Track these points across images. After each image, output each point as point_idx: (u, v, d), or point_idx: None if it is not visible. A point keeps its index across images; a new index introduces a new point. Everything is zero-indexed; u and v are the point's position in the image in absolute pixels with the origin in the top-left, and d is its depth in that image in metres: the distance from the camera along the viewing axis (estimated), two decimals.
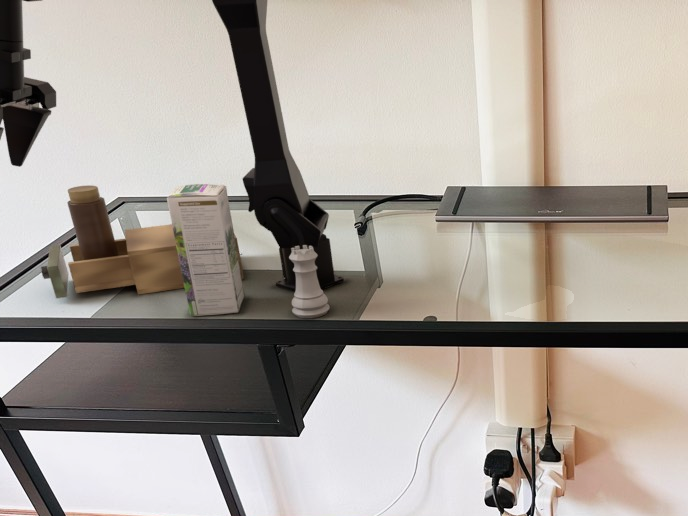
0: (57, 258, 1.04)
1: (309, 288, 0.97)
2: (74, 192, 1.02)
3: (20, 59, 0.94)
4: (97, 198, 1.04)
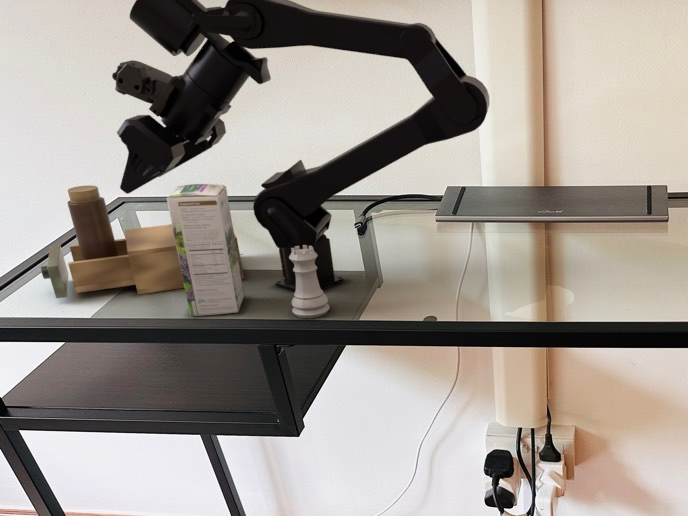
0: (57, 258, 1.04)
1: (309, 288, 0.97)
2: (74, 192, 1.02)
3: (220, 115, 0.99)
4: (97, 198, 1.04)
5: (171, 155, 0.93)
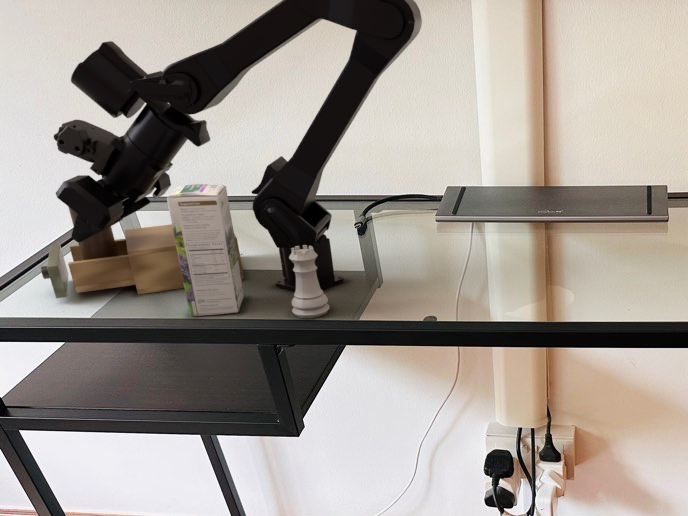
0: (57, 258, 1.04)
1: (309, 288, 0.97)
2: None
3: (160, 173, 1.02)
4: None
5: (108, 215, 0.96)
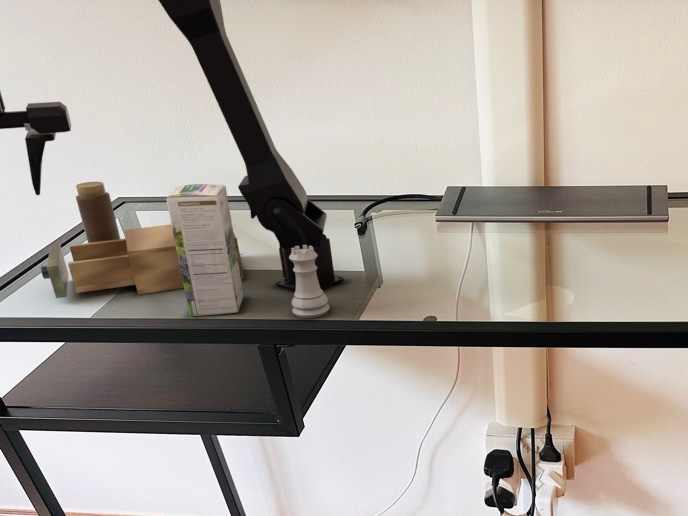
0: (57, 258, 1.04)
1: (309, 288, 0.97)
2: (79, 187, 1.12)
3: None
4: (100, 194, 1.14)
5: None
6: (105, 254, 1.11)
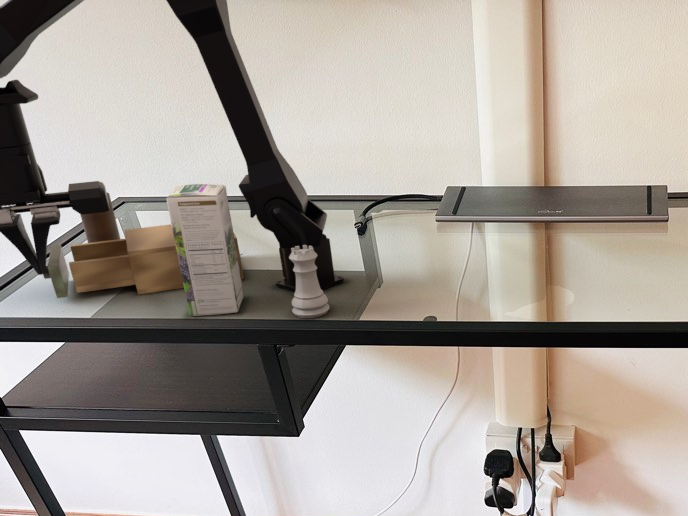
0: (58, 258, 1.04)
1: (309, 288, 0.97)
2: None
3: (5, 166, 0.94)
4: None
5: None
6: (106, 254, 1.11)
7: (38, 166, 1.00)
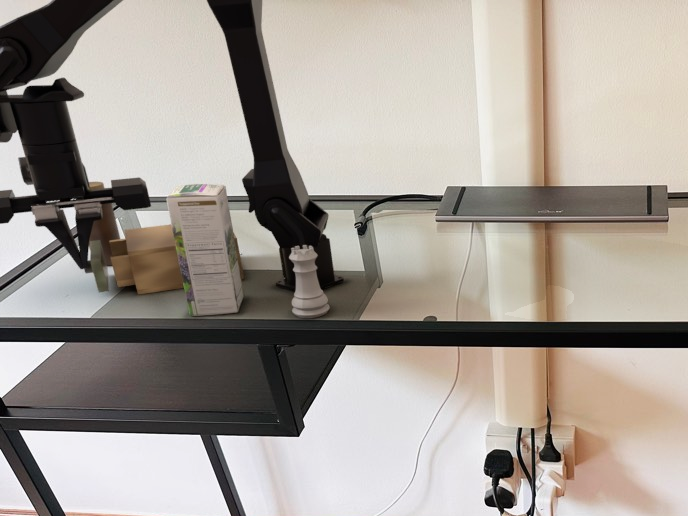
0: (99, 253, 1.06)
1: (309, 288, 0.97)
2: None
3: (51, 162, 0.96)
4: None
5: None
6: None
7: (81, 162, 1.02)
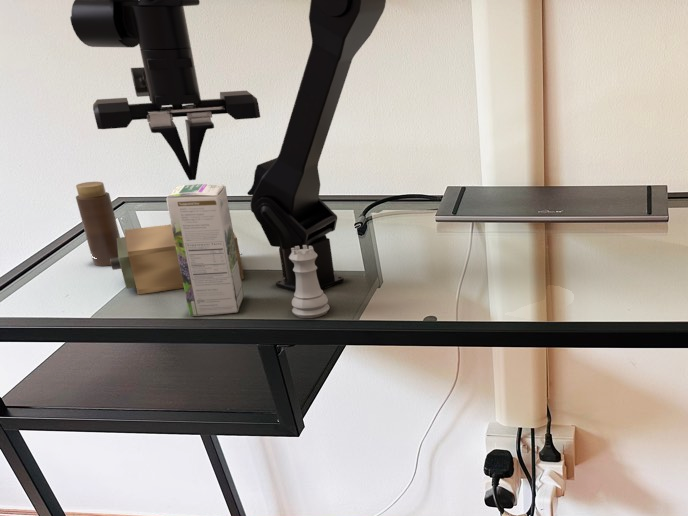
0: (126, 249, 1.07)
1: (309, 288, 0.97)
2: (79, 187, 1.12)
3: (170, 67, 0.98)
4: (100, 194, 1.14)
5: (98, 110, 0.97)
6: None
7: None
